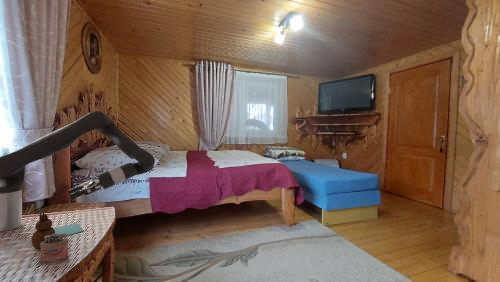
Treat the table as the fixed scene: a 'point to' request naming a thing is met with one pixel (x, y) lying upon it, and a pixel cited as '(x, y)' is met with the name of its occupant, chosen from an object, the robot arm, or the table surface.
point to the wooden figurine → (42, 231)
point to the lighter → (54, 249)
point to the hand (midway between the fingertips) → (69, 195)
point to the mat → (68, 229)
